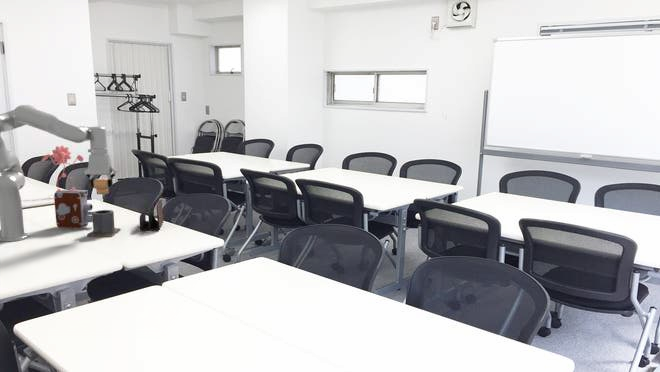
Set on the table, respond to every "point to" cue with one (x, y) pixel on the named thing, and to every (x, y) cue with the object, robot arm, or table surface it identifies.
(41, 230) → the table surface
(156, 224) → the letter holder
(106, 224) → the top hat
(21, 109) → the robot arm
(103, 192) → the cap
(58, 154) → the pink flower
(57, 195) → the cine camera
